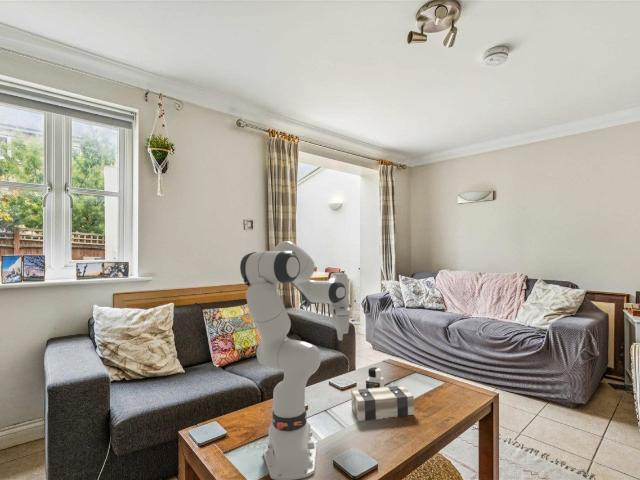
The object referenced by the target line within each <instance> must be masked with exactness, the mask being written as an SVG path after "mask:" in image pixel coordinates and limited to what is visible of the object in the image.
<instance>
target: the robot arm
mask: <svg viewBox="0 0 640 480" xmlns="http://www.w3.org/2000/svg"><path fill="white" fill-rule="evenodd" d="M239 269H240V275H241V277H242V279H243V282H244V284H245V285H246V287H248V288H247V289H246V292H245V299H246V303H247V307H248V309H249V312H250V315H251V318H252V319H253V322H254V324H255V327H256V329H257V331H258V334H259V335H260V336H259V337H260V340H261V341H260V342H259V344H258V346H257V349H256V358H257V360H258V362H259V363H260V364H261V365H263V366H265V367H267V368H269V369H272V370H277V371H281V372H283V380H281V381H280V382H278V383H277V384H276V385H275V387H274V389H273V392H272V394H273V395H272V396H273V397H272V398H273V399H272V400H273V410H272V416H271V419H272V423H271V425H270V427H269V428H268V446H267V447H266V448H265V449H264V450H263V452H262V453H263V454H262V455H263V458H264V461H265V465H266V468H267V471H268V474H269V477H270V479H272V480H300V479H304V478H307V477H310V476H312V475H314V474H315V472H316V464H317V453H318V446H317V444H315V442H314V441H313V440H312V437H313V432H312V429H311V424H310V423H309V422H308V420H307V417H308V416H307V408H306V406H305V404H306V402H305V401H306V395H305V394H306V387H307V382H308V380H309V379H310V377H311V376H312V375H313V374H315V372H317V371H318V369H319V367H320V365H321V362H322V359H321V358H322V355H321V352H320V348H318V346H316V345H314V344H312V343H309V342H307V341H302V340H299V339H298V340H297V339H291V338H289V337H288V336H287V335H288V333H289V332H290V329H291V326H292V325H291V324H292V322H291V318H290V316H289V314H288V312H287V309H286V307H285V304H284V302H283V300H282V298H281V296H280V295H279V293H278V289H277V284H288V283H290V284H292V286H293V287H294V288H295V289H296V290H297V291H298V292H299V293H300V295H301V298H302V299H303V300H304V302H306V303H307V304H315V303H316V304H329V313H330V314H332V317H331V318H332V326H333V328H335V330H336V334H337V340H338V341H341V342H342V341H343V336H344V335H345V334H348V333H349V330H350V329H349V328H350V316H351V309H350V300H349V299H350V298H349V294H350V286H349V285H350V284H349V277H348V275H347V274H346V273H344V272H336V271H335V272H331V273H330V277H329V279H327V280H312V279H311V277H312V276H313V274H314V272H315V262H314V260H313V258H312V257H311V256H310V255H309V254H308V253H307V252H306V251H305V250H304V249H303V248H301V247H300V246H298V245H297V244H295V243H294V242H291V241H288V240H284V241H280V242H279V243H278V244H276V246H274V248H273V250H265V251H264V250H262V251H254V252H253V251H252V252H250V253H247V254H246V255H244V256H243V257H242V258H241V261H240V265H239Z"/></svg>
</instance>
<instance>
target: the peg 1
mask: <svg viewBox="0 0 640 480" xmlns="http://www.w3.org/2000/svg"><path fill="white" fill-rule="evenodd" d="M361 396H362V397H369V396H371V394H370V393H362V394H361Z"/></svg>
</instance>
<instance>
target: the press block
mask: <svg viewBox="0 0 640 480" xmlns="http://www.w3.org/2000/svg"><path fill="white" fill-rule="evenodd" d="M393 390H400V391H402V393H401V394H393V393H392V391H393ZM350 392H351V409H352V411H353V413H354V415H355V417H356V419H357V420H358V422H365V421H374V420H383V418H385V419H389V418H388V417H395V418H398V417H397V416H404V417H409V416H408V415H414V416H415V403H414V401H415V400H414V395H413V394H412V393H411V392H410V391H409V390H408V389H407V388H406V387H405V386H404V385H392V386H384V387H379V388H368V389H366V388H359V389H358V388H357V389H351V391H350ZM362 393H370V394H371V396H369V397H362V396H361V394H362Z"/></svg>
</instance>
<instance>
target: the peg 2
mask: <svg viewBox="0 0 640 480" xmlns="http://www.w3.org/2000/svg"><path fill="white" fill-rule="evenodd" d="M392 393H393V394H401V393H402V391H400V390H393V391H392Z"/></svg>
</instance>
